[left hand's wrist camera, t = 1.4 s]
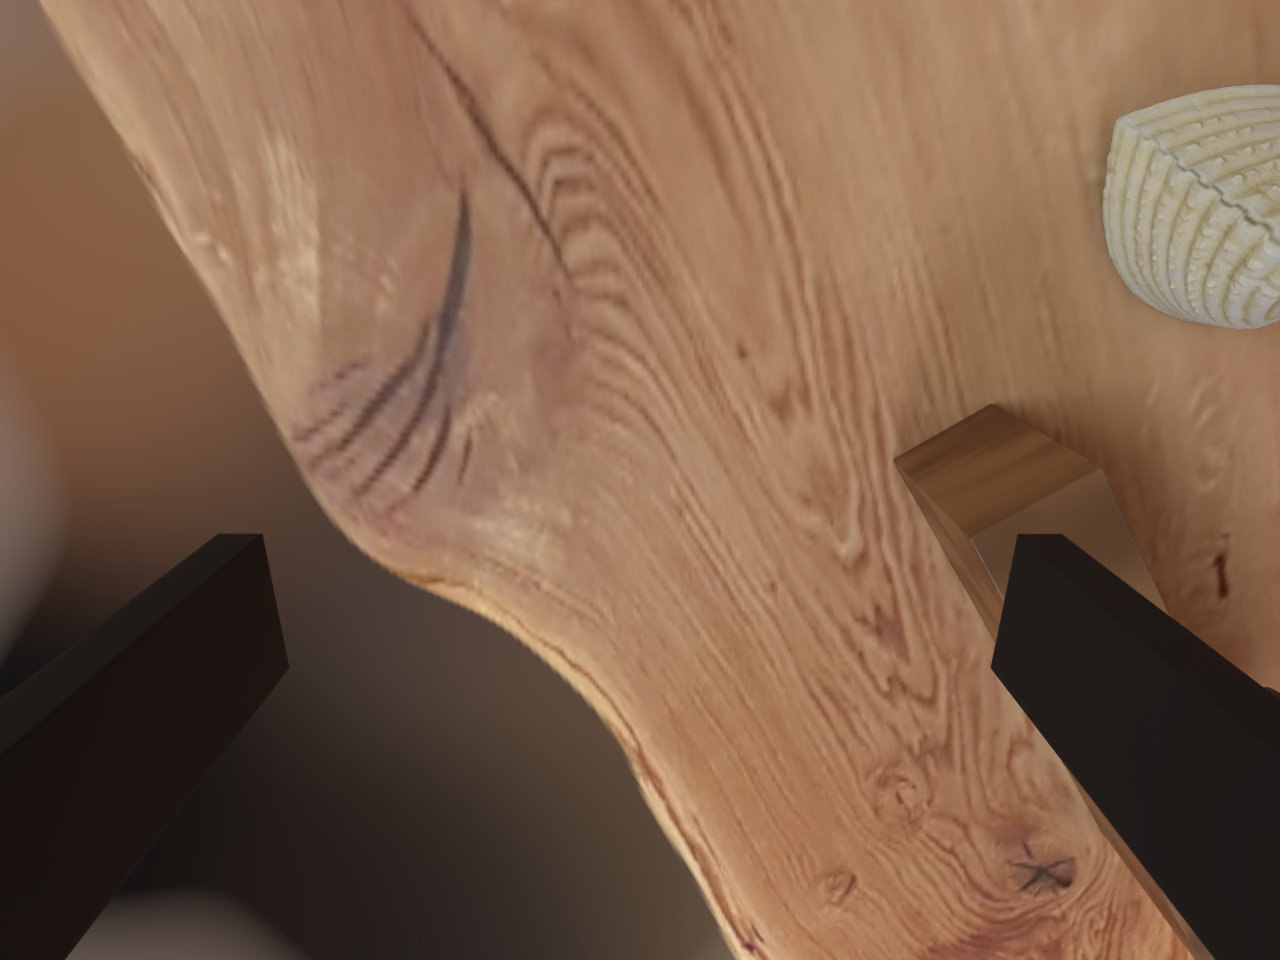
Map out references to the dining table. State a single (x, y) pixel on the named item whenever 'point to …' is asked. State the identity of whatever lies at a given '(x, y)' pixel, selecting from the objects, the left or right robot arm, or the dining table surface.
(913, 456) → the bar
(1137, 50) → the dining table surface
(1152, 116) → the seashell
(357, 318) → the dining table surface
